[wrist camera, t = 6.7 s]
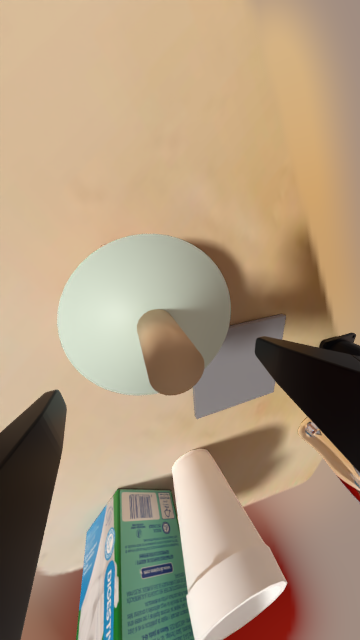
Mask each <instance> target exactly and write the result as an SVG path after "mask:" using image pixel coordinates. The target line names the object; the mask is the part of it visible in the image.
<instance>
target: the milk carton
mask: <svg viewBox="0 0 360 640" xmlns="http://www.w3.org/2000/svg"><path fill="white" fill-rule="evenodd" d="M187 594H188V590H187V582H186V575H185V567H184V559H183V552H182V544H181V536H180V529H179V523H178V519H177V514H176V510H175V505H174V501H173V497H172V492H171V490H139V489H118V490H117V491H116V492H115V494H114V495H113V497H112V498H111V499H110V501H109V502H108V504H107V505H106V506H105V508H104V509H103V511H102V512H101V513H100V515H99V516H98V518H97V519H96V520H95V522H94V523H93V525H92V526H91V527H90V529H89V530H88V532H87V537H86V547H85V557H84V567H83V576H82V586H81V596H80V607H79V616H78V626H77V636H76V640H194V635H193V630H192V625H191V620H190V615H189V610H188V605H187V597H186V596H187Z"/></svg>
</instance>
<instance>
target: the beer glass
mask: <svg viewBox="0 0 360 640" xmlns="http://www.w3.org/2000/svg"><path fill="white" fill-rule="evenodd" d="M298 435H299V436H300V437H301V438H302V439H303V440H304V441H306V442H307V443H308V444H309V445H311V446H312V447H313V448H314V449H315V450H316V451H317V452H318V453H319V454H320V455H321V456H322V458H323V459H324V460H325V461H326V463H327V464H328V465H329V466H330V468H331V469H332V470H333V472H334V473H335V474H336V476H337V477H338V478H339V480H340V481H341V482H342V484H343V485H344V486H345V487H346V489H347V490H348V491H349V492H350V493H351V495H352V496H353V497H354V498H355V499H356V500H357V502H358V503H359V504H360V473H359V472H358V471H357V470H356V468H355V467H354V466H353V465H352V464H351V463H350V462H349V461H348V460H347V459H346V458H345V457H344V455H343V454H342V453H341V452H340V451H339V450H338V449H337V448H336V447H335V446H334V445H333V443H332V442H331V441H330V440H329V439H328V438H327V437H326V436H325V435H324V434H323V433H322V432H321V430H320V429H319V428H318V427H317V426H316V425H315V424H314V423H313V422H312V421H311V420H310V418H309V417H307V418H306V419H305V420H304V421H303V422H302V423H301V424H300V426H299V428H298Z"/></svg>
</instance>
